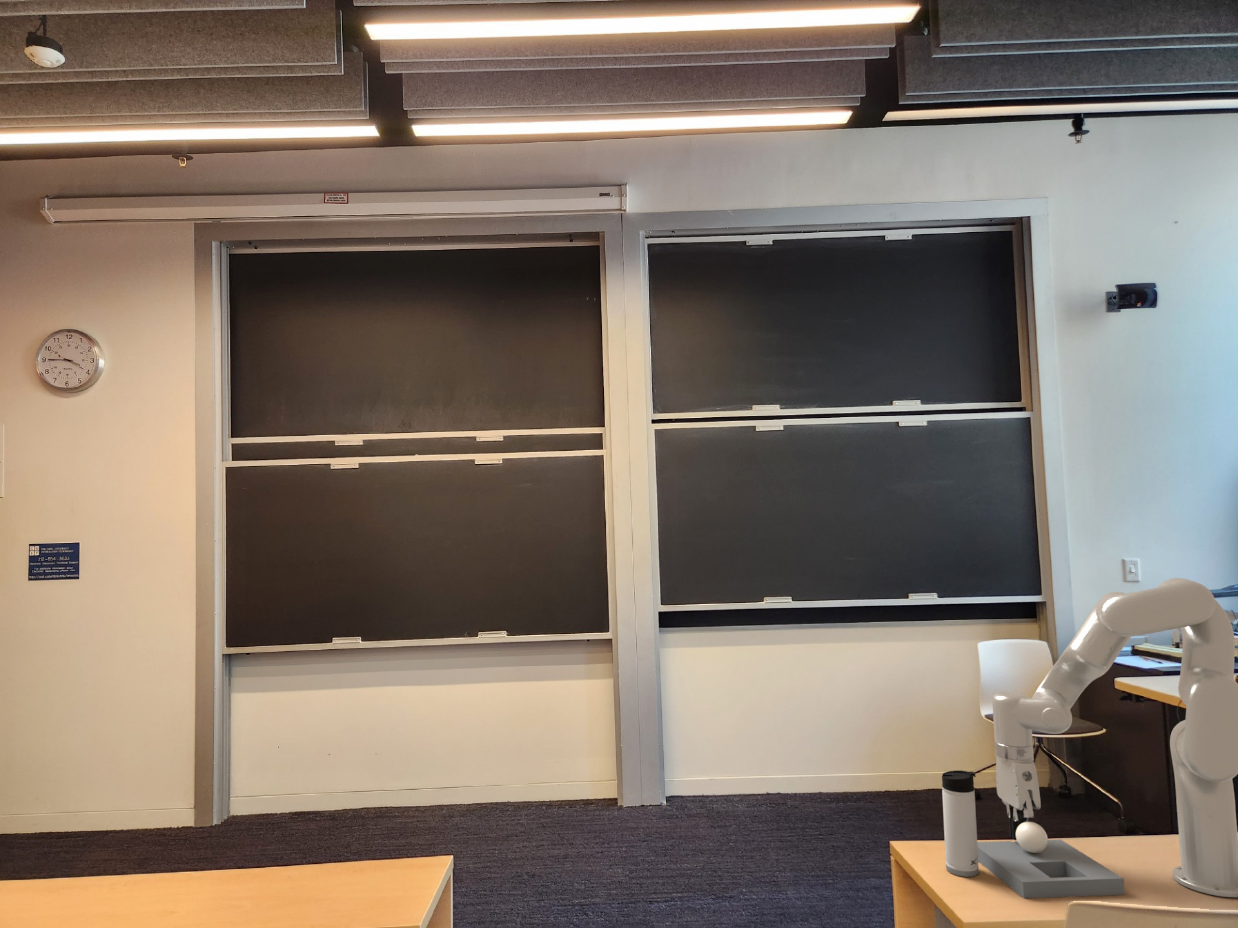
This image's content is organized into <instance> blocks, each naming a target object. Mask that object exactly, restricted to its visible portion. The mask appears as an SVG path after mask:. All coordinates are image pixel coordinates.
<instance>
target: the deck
mask: <svg viewBox="0 0 1238 928" xmlns="http://www.w3.org/2000/svg"><path fill="white" fill-rule="evenodd" d="M1011 841H1012V840H1010V841H1009V840H1004V841H1002V840H1001V841H977V848H978V863H979V864H980V865H982V866H983V867H984V866H985V867H984V868H986V869H987V870H988V871H990V872H991V873H992V874H993V875H995V876H996V878H998V879H999V880H1001V881H1002V882H1003V883H1004V884H1005V885H1007V886H1008V888H1010V889H1012V890H1013V891H1014V892H1015V893H1017V894H1018V895H1019V896H1021V897H1022V898H1023V899H1037V898H1039V899H1041V898H1043V899H1044V898H1045V899H1046V898H1066V897H1068V898H1070V897H1092V896H1095V897H1097V896H1124V895H1125V882H1124V878H1123V877H1122V876H1120V875H1119V874H1117V873H1115V872H1113V870H1111V869H1109V868H1107V867H1106V866H1104V865H1103V864H1101V863H1099V862H1098V861H1096V860H1094V858H1091V857H1090V856H1088V855H1086V854H1085V853H1084V852H1082V851H1080V850H1078V849H1077V848H1076V847H1073V846H1072V845H1070V844H1069V843H1067V842H1066V841H1064V840H1062V839H1060V838H1059V839H1048V843H1047V846H1046V848H1045V849H1044V850H1043V851H1041V852H1039V853H1031V852H1028V851H1026V850H1024V849H1023V848H1022V847H1021V846H1020V845H1019V844H1018V842H1017V840H1014V841H1015V842H1011Z"/></svg>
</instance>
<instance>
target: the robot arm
mask: <svg viewBox="0 0 1238 928" xmlns="http://www.w3.org/2000/svg"><path fill="white" fill-rule="evenodd" d="M1232 625H1233V624H1232V623H1231V620H1230V618H1229V616H1228V615H1227V612H1226V611H1225V610H1224V608H1223V607H1222V606H1221V604H1220V603H1219V602H1218V601H1217V600H1216V599H1215V596H1214V595H1213V593H1212V592H1211V591H1210V589H1209V588H1208V587H1206V586H1205V585H1203V584H1201V583H1200V582H1198V581H1195V580H1191V579H1186V578H1181V577H1178V578H1177V577H1173V578H1169V579H1166V580H1164V581H1163V582H1161V583H1160V584H1159V585H1158V587H1154V588H1150V589H1149V588H1148V589H1143V590H1139V591H1133V592H1128V593H1125V592H1121V591H1111V592H1108V593H1106V594H1104V595H1103V596H1101V597H1100V599H1099V600H1098V601H1097V602H1096V604H1095V605H1094V606H1093V608H1092V609H1091V611H1090V613H1088V615H1087V617H1086V619H1085V620H1084V622H1083V623H1082V624H1081V625H1080V628H1079V629H1078V631H1076V634H1075V635H1074V636H1073V638H1072V640H1071V641H1069V643H1068V645H1067V647H1066V648H1065V649H1064V650H1063V652H1062V654H1061V655H1060V656H1059V658H1058V659H1057V661H1056V662H1055V663H1054V665H1053V666H1051V669H1050V670H1049V671H1048V672H1047V674H1046V676H1045V677H1044V679H1043V680H1042V682H1041V683H1040V684H1039V686H1038V688H1037V689H1036V691H1035V692H1034V694H1033V695H1032V697H1031V698H1030V697H1028V696H1026V694H1022V693H1019V692H1014V691H1013V692H1012V691H1002V692H997V693H995V694H993V697H992V700H991V701H992V702H991V703H992V717H993V718H992V721H993V737H994V738H993V739H994V752H995V758H996V762H995V776H996V777H995V781H996V782H995V783H996V784H995V786H996V794H997V796H998V797H999V799H1001V802H1002V803H1003V804H1004V805H1005V807H1006V812H1007V813H1006V814H1007V816H1008V823H1009V824H1008V825H1009V826H1008V827H1009V837H1010V838H1012V839H1013V841H1017V839H1016V830H1017V827H1018V826H1019V825H1020V824H1022V823H1024V822H1029V818H1034V817H1035V816H1034V811H1033V810H1037V811H1038V810H1040V809H1041V796H1040V795H1041V794H1040V786H1039V779H1038V778H1039V777H1038V773H1037V769H1036V764H1035V762H1034V760H1035V758H1034V746H1033V745H1034V744H1033V731H1037V732H1042V733H1045V734H1052V735H1054V734H1055V735H1058V734H1062V733H1065V732H1067V731H1068V730H1069V729H1070V727H1071V726H1072V724H1073V715H1072V711H1071V708H1072V707H1073V706H1074V705H1075V704H1076V701H1077V700H1078V698H1079V697H1080V695H1081V694H1082V693H1083V692H1084V691H1085V689H1086V688H1087V687H1088V686H1089V685H1090V684H1091V683H1092V682H1093V681H1095V680H1097V679H1098V678H1100V677H1102V676H1103V675H1105V674H1106V673H1107V672H1108V671H1109V670H1110V668H1111V667H1112V665H1113V664H1114V662H1116V660H1117V657H1118V656H1119V654H1120V653H1121V652H1122V650H1123V649H1124V648H1125V646H1126V644H1127V643H1128V642H1129V641H1130V639H1131V638H1132V637H1137V636H1143V635H1144V636H1145V635H1150V634H1151V635H1152V634H1156V633H1161V632H1165V631H1171V630H1174V629H1180V631H1181V636H1182V645H1181V647H1182V648H1181V649H1182V651H1181V653H1182V655H1181V665H1180V675H1179V679H1178V687H1177V689H1178V690H1177V692H1178V695H1179V698H1180V700H1181V702H1182V703H1183V704H1184V705H1185V707H1186V709H1185V719H1184V720H1182V721H1179V723H1178V722H1177V724H1176V725H1175V726H1174V727H1173V729H1172V731H1171V734H1170V736H1169V737H1170V738H1169V747H1170V755H1171V756H1170V757H1171V761H1172V768H1173V774H1174V785H1175V797H1176V812H1177V828H1178V839H1179V850H1180V852H1179V853H1180V863H1181V864H1180V865H1179V866H1176V867H1173V869H1172V877H1173V879H1174V880H1175V881H1176V882H1177V883H1178V884H1180V885H1182V886H1183V887H1186V888H1189V889H1191V890H1193V891H1196V892H1199V893H1202V894H1203V893H1204V894H1207V895H1211V896H1216V897H1223V898H1238V825H1237V814H1236V798H1235V791H1234V783H1233V778H1235V777H1237V775H1238V682H1237V681H1235V676H1234V674H1235V650H1236V649H1235V648H1236V647H1235V644H1236V642H1235V631H1234V629H1233V626H1232Z"/></svg>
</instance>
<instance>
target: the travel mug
mask: <svg viewBox="0 0 1238 928" xmlns="http://www.w3.org/2000/svg"><path fill="white" fill-rule="evenodd" d="M974 778H976V773H975V772H974V770H973V771H972V770H971V771H968V770H959V769H958V770H948V771H946V772H943V773H942V774H941V782H942V783H941V789H942V790H941V791H942V793H941V795H942V813H943V831H944V832H943V833H944V851H945V852H944V853H945V854H944V855H945V856H944V857H945V869H946V871H948V872H949V873H950V874H952V875H954V876H958V877H963V878H971V877H976V876H977V875H979V874H980V873H979V862H978V848H977V842H978V833H977V832H978V831H977V830H978V829H977V816H976V815H977V813H976V810H977V809H976V796H975V795H976V794H975V782H974V781H975V780H974Z"/></svg>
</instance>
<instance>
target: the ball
mask: <svg viewBox="0 0 1238 928" xmlns="http://www.w3.org/2000/svg"><path fill="white" fill-rule="evenodd" d="M1016 839H1017V840H1016V841H1017V842H1018V844H1019V845H1020V846H1021V847H1022V848H1023V849H1024V850H1026V851H1028V852H1031V853H1039V852H1041V851H1043V850H1044V849H1045V848H1046V846H1047V843H1048V840H1049V839H1048V834H1047V833H1046V831H1045V828H1044V827H1042V826H1041V825H1040V824H1038V823H1036V822H1033V821H1027V822H1024V823H1022V824H1020V825H1019V826H1018V827H1017V830H1016Z"/></svg>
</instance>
